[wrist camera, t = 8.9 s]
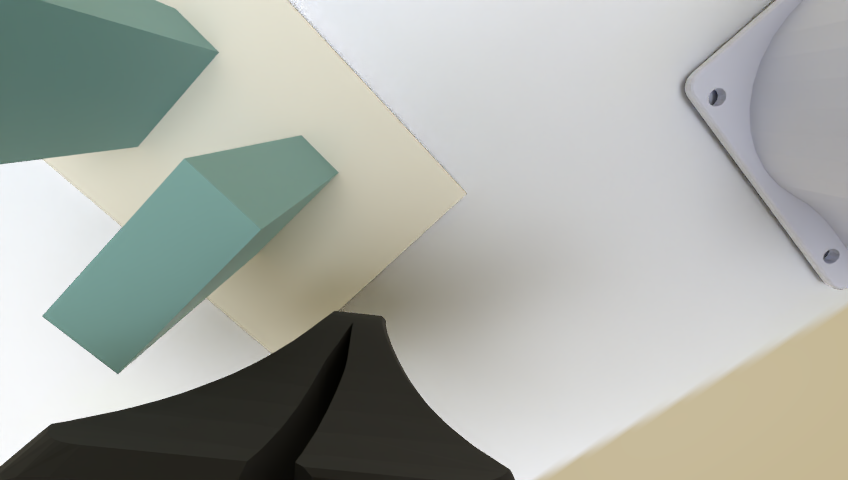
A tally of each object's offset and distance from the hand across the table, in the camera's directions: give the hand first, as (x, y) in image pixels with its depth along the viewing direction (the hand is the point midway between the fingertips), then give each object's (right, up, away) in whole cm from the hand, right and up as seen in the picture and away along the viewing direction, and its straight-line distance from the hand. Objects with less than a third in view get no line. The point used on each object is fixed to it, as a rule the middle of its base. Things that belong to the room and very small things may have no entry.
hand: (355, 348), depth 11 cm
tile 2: (-6, +8, +2) cm, 10 cm away
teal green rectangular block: (-3, +4, +3) cm, 6 cm away
